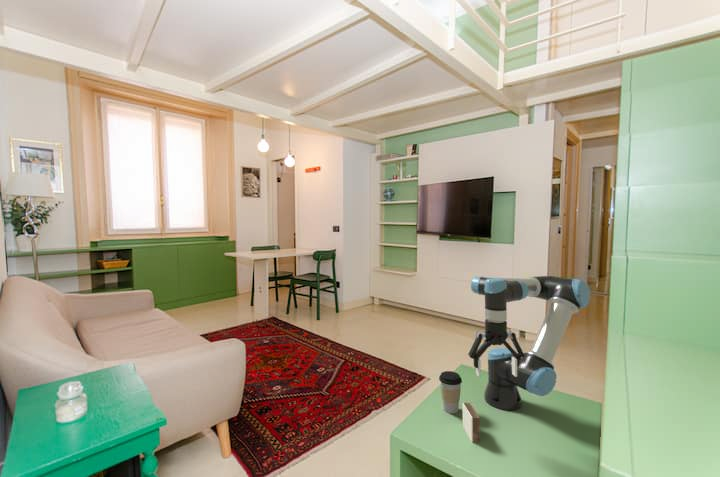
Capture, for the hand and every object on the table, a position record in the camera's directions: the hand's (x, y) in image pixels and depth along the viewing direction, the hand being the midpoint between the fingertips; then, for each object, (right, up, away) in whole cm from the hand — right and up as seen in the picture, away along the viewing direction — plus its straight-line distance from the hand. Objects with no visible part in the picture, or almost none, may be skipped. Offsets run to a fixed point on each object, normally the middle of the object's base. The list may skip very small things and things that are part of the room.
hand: (496, 375), depth 120 cm
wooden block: (-10, -22, 0) cm, 24 cm away
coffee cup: (-13, -22, +16) cm, 30 cm away
